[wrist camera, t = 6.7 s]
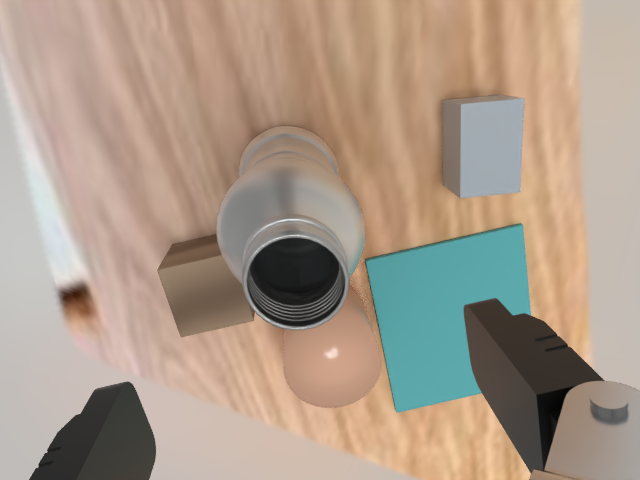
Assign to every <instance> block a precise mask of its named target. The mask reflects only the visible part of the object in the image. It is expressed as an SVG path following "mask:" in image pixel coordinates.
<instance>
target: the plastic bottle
mask: <svg viewBox="0 0 640 480" xmlns="http://www.w3.org/2000/svg"><path fill="white" fill-rule="evenodd" d="M216 232H217V242H218V245H219V248H220V251H221V254H222V256H223V258H224V260H225V262H226V264H227V265H228V267H229V269H230V271H231V272H232V273H233V275H234V276H235V277H236V278H237V279H238V281H239V282H240V283H241V284H243V289H244V293H245V296H246V299H247V301H248V303H249V304H250V306H251V308H252V309H253V310H254V311H255V312H256V314H257V315H258V316H260V317H261V318H262V319H263V320H265V321H266V322H268V323H270V324H272V325H274V326H276V327H279V328H282V329H288V330H307V329H312V328H315V327H318V326H320V325H323V324H324V323H326V322H328V321H329V320H331V319H332V318H333V317H334V316H335V315H336V314H337V313H338V312H339V311H340V309H341V308H342V306H343V305H344V303H345V300H346V298H347V295H348V290H349V277H350V276H351V275H352V273H353V272H354V270H355V268H356V266H357V264H358V262H359V260H360V257H361V255H362V253H363V248H364V243H365V222H364V217H363V212H362V210H361V208H360V205H359V203H358V201H357V199H356V197H355V196H354V195H353V193H352V192H351V190H350V189H349V187H348V186H347V185H346V184H345V183H344V182H343V181H342V180H341V179H340V177H339V168H338V163H337V160H336V158H335V156H334V153H333V152H332V150H331V149H330V147H329V146H328V145H327V144H326V143H325V142H324V141H323V140H322V139H321V138H320V137H319V136H317V135H316V134H314V133H313V132H310V131H308V130H306V129H303V128H299V127H294V126H280V127H275V128H271V129H268V130H266V131H264V132H262V133H260V134H259V135H258V136H256V137H255V138H254V139H253V140H252V141H251V142H250V143H249V144H248V145H247V147H246V149H245V150H244V152H243V154H242V157H241V160H240V164H239V178H238V179H237V180H236V181H235V182H234V183H233V184H232V186H231V187H230V188H229V190H228V191H227V193H226V195H225V196H224V198H223V200H222V202H221V205H220V208H219V211H218V214H217V223H216Z"/></svg>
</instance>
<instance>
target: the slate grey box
mask: <svg viewBox="0 0 640 480" xmlns="http://www.w3.org/2000/svg"><path fill="white" fill-rule="evenodd" d="M523 117H524V98H518V97H512V96H505V95H491V96H480V97H470V98H459V99H448V100H443V185H444V186H445V187H446V188H448V189H449V190H450V191H452V192H453V193H454V194H456V195H457V196H458V197H459V198H467V197H477V196H487V195H497V194H507V193H517V192H520V182H521V161H522V139H523Z"/></svg>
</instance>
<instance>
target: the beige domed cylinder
mask: <svg viewBox="0 0 640 480" xmlns="http://www.w3.org/2000/svg"><path fill="white" fill-rule="evenodd" d="M283 330H284V374H285V378H286V381H287V383H288V385H289V387H290V389H291V390H292V391H293V392H294V393H295V394H296V395H297V396H298V397H299V398H300V399H302V400H303V401H305V402H307V403H309V404H311V405H314V406H318V407H324V408H336V407H342V406H346V405H349V404H352V403H354V402H356V401H358V400H360V399H361V398H362V397H364V396H365V395H366V394H367V393H368V392H369V391H370V390H371V389H372V388H373V387H374V385H375V384H376V382H377V380H378V378H379V375H380V371H381V355H380V351H379V348H378V345H377V342H376V340H375V337H374V334H373V331H372V328H371V325H370V322H369V319H368V316H367V313H366V310H365V307H364V304H363V302H362V300H361V298H360V296H359V295H358V293H357V292H356V291H355V290H354V289H353V288H351V287H350V286H349V290H348V295H347V298H346V300H345V303H344V305H343V306H342V308H341V309H340V311H339V312H338V313H337V314H336V315H335V316H334V317H333V318H332V319H331V320H329V321H328V322H326V323H324V324H323V325H320V326H318V327H315V328H312V329H307V330H288V329H283Z"/></svg>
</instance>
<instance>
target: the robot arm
mask: <svg viewBox="0 0 640 480" xmlns="http://www.w3.org/2000/svg"><path fill="white" fill-rule="evenodd" d="M463 311H464V320H465V327H466V335H467V342H468V349H469V356H470V363H471V367H472V371H473V374H474V377H475V380H476V383H477V385H478V387H479V389H480V390H481V392H482V394H483V395H484V397H485V399H486V400H487V402H488V404H489V405H490V407H491V408H492V410H493V412H494V413H495V415H496V417H497V418H498V420H499V422H500V423H501V425H502V426H503V428H504V430H505V431H506V433H507V435H508V436H509V438H510V440H511V441H512V443H513V445H514V446H515V448H516V449H517V451H518V453H519V454H520V456H521V458H522V459H523V461H524V463H525V464H526V466H527V467H528V469H529V471H530V472H531V476H530V479H529V480H640V391H639V390H637V389H636V388H633V387H631V386H628V385H625V384H622V383H617V382H611V381H604V380H603V379H602V378H601V377H600V376H599V375H598V374H597V373H596V372H595V371H594V370H593V369H592V368H591V367H590V366H589V365H588V364H587V363H586V362H585V361H584V360H583V359H582V358H581V357H580V356H579V355H578V354H577V353H576V352H575V351H574V350H573V349H572V348H571V347H568V345H567V343H566V342H565V341H564V340H562V339H561V338H560V337H558V336H557V334H556V333H555V332H554V331H553V330H552V329H551V328H550V327H549V326H548V325H547V324H546V323H545V322H544V321H542V320H539V319H537V318H535V317H533V316H530V315H528V314H526V313H522V314H518V315H512V314H511V313H510V312H509V311H508V310H507V308H506V307H505V306H504V305H503V304H502V303H501V302H500V301H499V300H498V299H497V298H492V299H488V300H484V301H479V302H475V303H471V304H466V305H464V310H463ZM47 451H48V452H47V453H45V454H44V456H43V458H42V460H41V461H40V463H39V468H36V469H35V471H34V473H33V474H32V476H31V477H30V479H29V480H149V478H150V475H151V471H152V469H153V465H154V462H155V456H156V446H155V438H154V435H153V432H152V429H151V427H150V424H149V422H148V419H147V417H146V414H145V412H144V409H143V407H142V404H141V402H140V399H139V397H138V395H137V392H136V390H135V388H134V386H133V385H132V384H131V383H130V382H123V383H119V384H115V385H111V386H106V387H102V388H97V389H95V390H94V392H93V393H92V395H91V397H90V398H89V400H88V402H87V404H86V405H85V407H84V409H83V411H82V412H81V414H79V415H76V416H75V417H73V418H72V419H71V420H70V421H69V422H68V423H67V424H66V425H65V426H64V427H63V428H62V429H61V430H60V431H59V432H58V433H57V435H56V436H55V438H54V440H53V441H52V443H51V444H50V446H49V448H48V450H47Z"/></svg>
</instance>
